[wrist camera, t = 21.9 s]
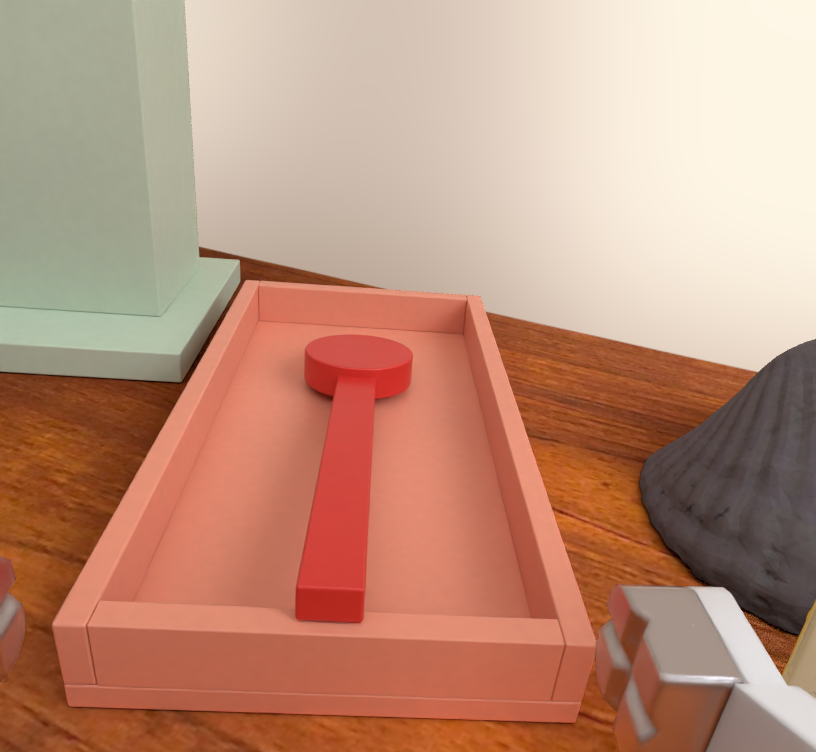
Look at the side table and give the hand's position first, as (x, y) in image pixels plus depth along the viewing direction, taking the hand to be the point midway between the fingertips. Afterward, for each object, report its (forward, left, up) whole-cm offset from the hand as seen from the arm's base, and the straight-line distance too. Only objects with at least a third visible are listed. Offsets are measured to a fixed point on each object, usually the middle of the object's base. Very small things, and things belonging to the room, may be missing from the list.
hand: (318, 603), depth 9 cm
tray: (0, +16, -8) cm, 18 cm away
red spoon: (0, +14, -6) cm, 15 cm away
